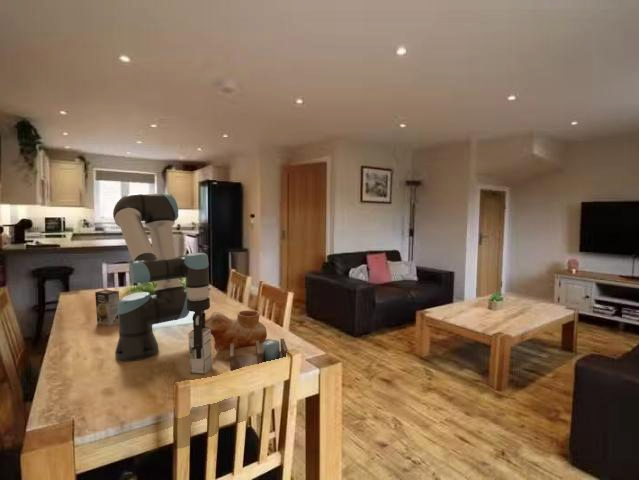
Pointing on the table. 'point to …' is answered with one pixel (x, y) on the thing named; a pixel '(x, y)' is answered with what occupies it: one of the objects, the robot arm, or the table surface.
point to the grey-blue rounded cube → (271, 350)
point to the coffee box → (107, 307)
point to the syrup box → (206, 352)
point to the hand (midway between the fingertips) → (201, 360)
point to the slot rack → (251, 356)
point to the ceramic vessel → (236, 329)
